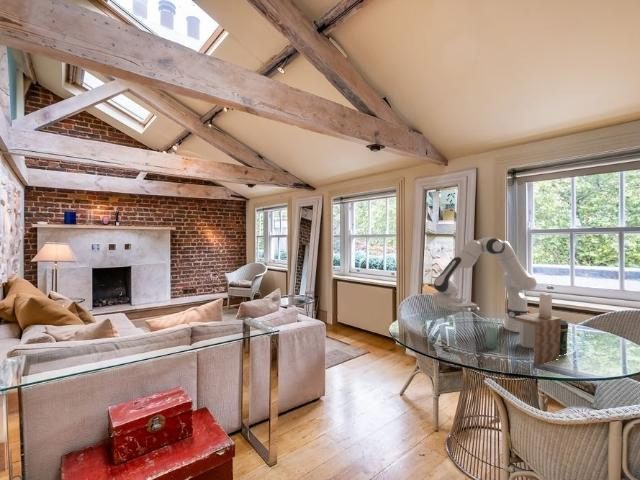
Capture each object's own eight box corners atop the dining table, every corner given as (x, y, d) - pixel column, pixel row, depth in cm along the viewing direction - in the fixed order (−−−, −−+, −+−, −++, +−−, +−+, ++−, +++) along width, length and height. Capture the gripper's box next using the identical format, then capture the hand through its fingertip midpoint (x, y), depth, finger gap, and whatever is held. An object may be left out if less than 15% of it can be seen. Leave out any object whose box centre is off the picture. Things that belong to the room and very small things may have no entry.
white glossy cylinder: (542, 314, 172) (543, 292, 172) (553, 317, 167) (554, 294, 167) (536, 316, 170) (537, 293, 169) (547, 318, 165) (548, 295, 165)
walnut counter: (535, 351, 178) (536, 312, 177) (559, 359, 167) (560, 318, 166) (513, 357, 169) (514, 316, 168) (536, 366, 158) (538, 322, 157)
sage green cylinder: (489, 345, 186) (490, 325, 185) (498, 348, 181) (499, 327, 181) (483, 346, 183) (484, 326, 183) (492, 350, 179) (493, 329, 178)
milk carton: (532, 344, 188) (534, 313, 188) (536, 348, 182) (537, 316, 181) (519, 343, 191) (520, 311, 190) (522, 347, 184) (523, 314, 183)
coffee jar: (561, 357, 169) (562, 323, 168) (544, 352, 176) (546, 319, 175) (569, 354, 174) (571, 321, 174) (552, 349, 181) (554, 317, 180)
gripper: (444, 299, 199) (464, 305, 187) (465, 298, 209) (485, 304, 197) (443, 309, 199) (462, 316, 187) (464, 308, 209) (484, 314, 197)
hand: (474, 310), depth 192 cm, fingers open, 8 cm apart
